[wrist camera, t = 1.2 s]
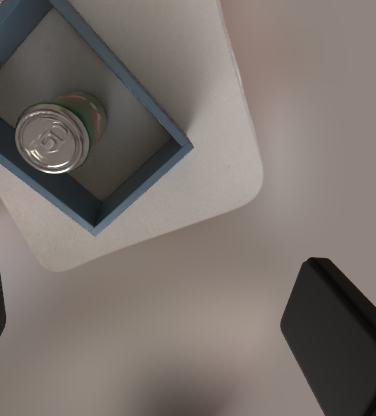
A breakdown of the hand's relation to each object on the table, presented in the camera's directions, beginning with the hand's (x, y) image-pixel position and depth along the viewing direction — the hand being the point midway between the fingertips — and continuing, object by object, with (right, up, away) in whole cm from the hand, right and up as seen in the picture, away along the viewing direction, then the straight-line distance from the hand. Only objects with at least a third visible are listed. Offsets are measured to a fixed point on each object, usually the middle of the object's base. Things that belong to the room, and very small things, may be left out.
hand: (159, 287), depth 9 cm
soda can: (-10, +12, +22) cm, 27 cm away
